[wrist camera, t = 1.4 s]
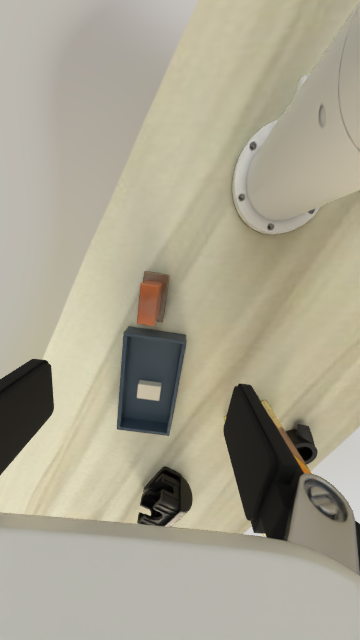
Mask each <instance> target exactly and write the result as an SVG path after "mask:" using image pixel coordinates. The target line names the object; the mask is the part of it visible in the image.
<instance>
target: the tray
mask: <svg viewBox="0 0 360 640" xmlns="http://www.w3.org/2000/svg"><path fill="white" fill-rule="evenodd" d="M185 347H186V335H182V334H176V333H169V332H162V331H155V330H149V329H142V328H135V327H128V328H127V329H126V330H125V332H124V336H123V350H122V364H121V378H120V392H119V406H118V419H117V429H118V430H126V431H135V432H143V433H151V434H159V435H167V436H169V434H170V429H171V424H172V418H173V413H174V407H175V402H176V396H177V391H178V385H179V380H180V374H181V369H182V363H183V358H184V352H185ZM139 380H144V381H152V382H159V383H162V384H161V391H160V398H159V401H156V400H149V399H141V398H137V391H138V383H139Z"/></svg>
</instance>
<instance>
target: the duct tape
mask: <svg viewBox="0 0 360 640" xmlns="http://www.w3.org/2000/svg"><path fill="white" fill-rule="evenodd" d="M286 433H287V435H288V437H289V438H290V440H291V441H292V443H293V445H294V446H295V448H296V449H297V451H298V453H299V454H300V456H301V457H302V459H303V460H304V462H305V464H308V463H310V462H312V461H313V460H314V459H315V458H316V456H317V449H316V447H315V445H314V441H313V437H312V434H311V431H310V429H309V426H305V425H299V424H298V426H297V430H290V431H287V432H286Z"/></svg>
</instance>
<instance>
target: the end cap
mask: <svg viewBox="0 0 360 640" xmlns="http://www.w3.org/2000/svg"><path fill="white" fill-rule="evenodd" d="M143 492H144V494H143V495H142V498H141V503H140V506H142V507H145V508H147V509H149V510H150V511H151V516H149V515H146V514H142V513H139V515H138V522H137V523H138V524H143V525H154V526H165V527H172V526H173V525H174V524H175V523H176V522H177V521H178V520H179V519H180V518H181V517H182V516H183V515H185V514H186V513H187V512H188V511H189V510H190V508H191V506H192V492H191V489H190V486H189V484H188V483H187V481H186V480H185V479H184V478H183V477H182V475H180V474H179V473H178V472H176V471H174V470H171V469H169V468H167V467H163V468H162V469H161V470H160V471H159V472H158V474H157V475H156V476H155V477H154V478H153V479H152V480H151V481H150V482H149V483H148V484H147V485H146V487H145V488H144V491H143Z"/></svg>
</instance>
